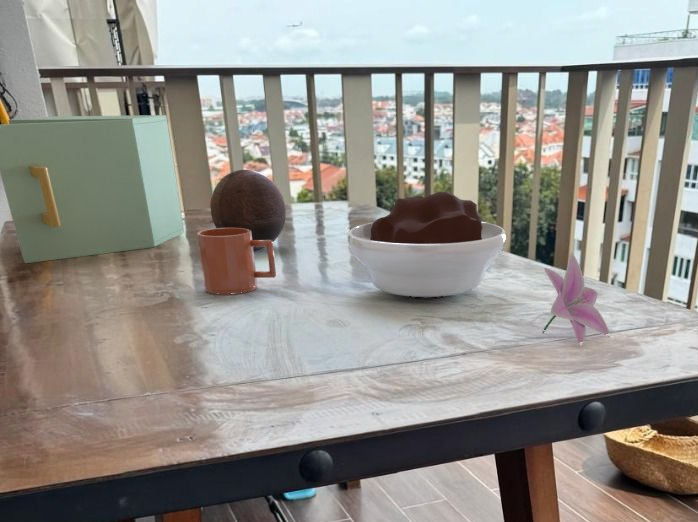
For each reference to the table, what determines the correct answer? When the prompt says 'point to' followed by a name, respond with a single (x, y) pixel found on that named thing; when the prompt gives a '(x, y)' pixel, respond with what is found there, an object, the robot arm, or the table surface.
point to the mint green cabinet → (74, 188)
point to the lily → (575, 301)
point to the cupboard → (146, 169)
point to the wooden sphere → (249, 205)
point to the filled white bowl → (427, 246)
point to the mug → (231, 260)
